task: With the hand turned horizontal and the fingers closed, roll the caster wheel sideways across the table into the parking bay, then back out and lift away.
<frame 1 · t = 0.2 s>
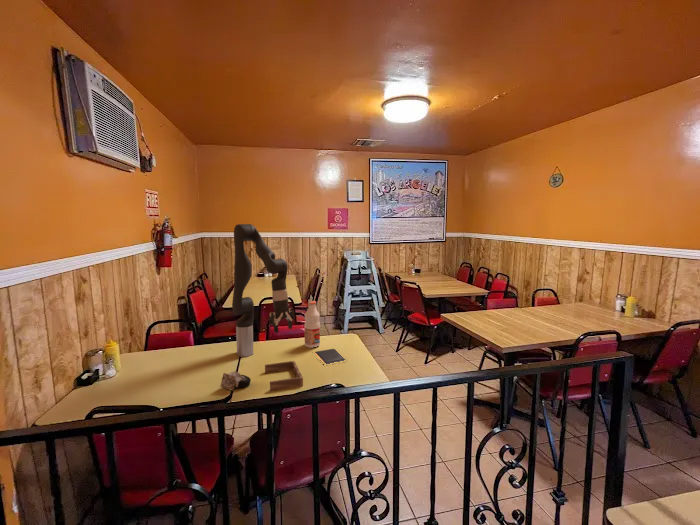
hand: (283, 330, 173), 22 cm above the table, tool pointing down, fingers open, 8 cm apart
fruit juice: (312, 345, 213), on the table
wallet: (329, 358, 196), on the table
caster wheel: (237, 386, 162), on the table
parking bay: (282, 378, 169), on the table
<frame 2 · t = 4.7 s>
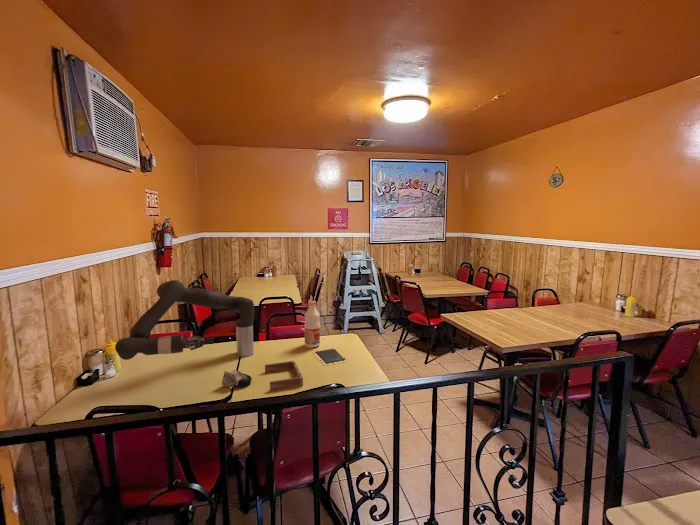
hand: (213, 340, 155), 23 cm above the table, tool horizontal, fingers closed
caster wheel: (238, 384, 163), on the table
everything else where it was.
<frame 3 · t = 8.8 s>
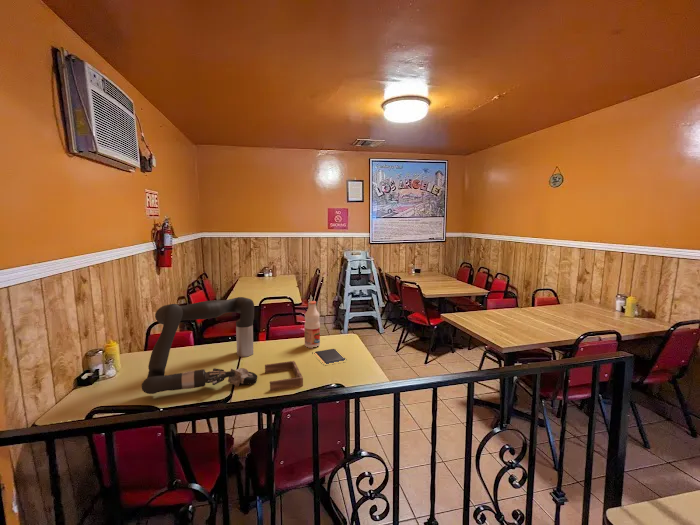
hand: (234, 373, 161), 6 cm above the table, tool horizontal, fingers closed
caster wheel: (244, 382, 165), on the table, touching gripper
everything else where it was.
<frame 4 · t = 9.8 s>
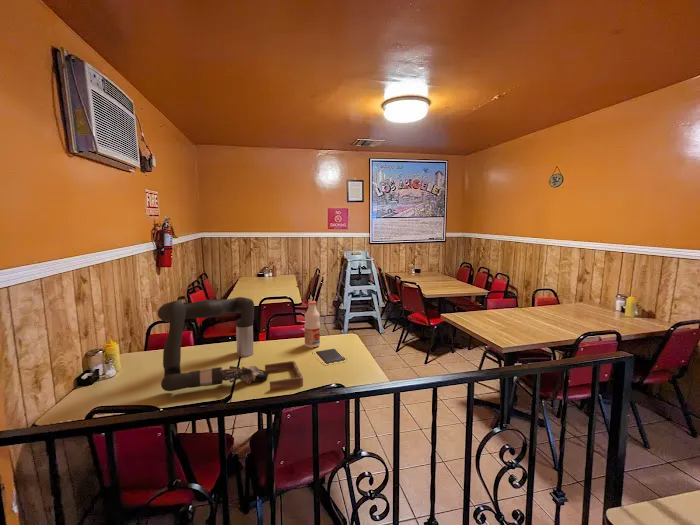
hand: (250, 371, 163), 6 cm above the table, tool horizontal, fingers closed
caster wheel: (255, 380, 168), on the table
everything else where it was.
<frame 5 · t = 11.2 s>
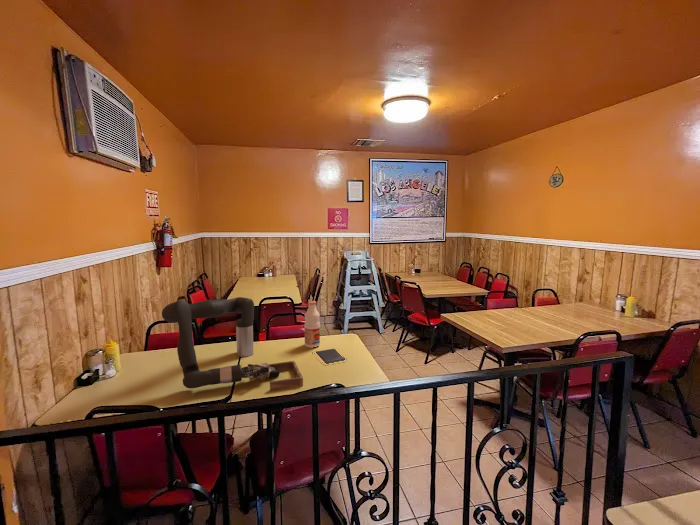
hand: (268, 369, 166), 6 cm above the table, tool horizontal, fingers closed
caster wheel: (267, 376, 172), on the table, touching gripper, hand
everything else where it was.
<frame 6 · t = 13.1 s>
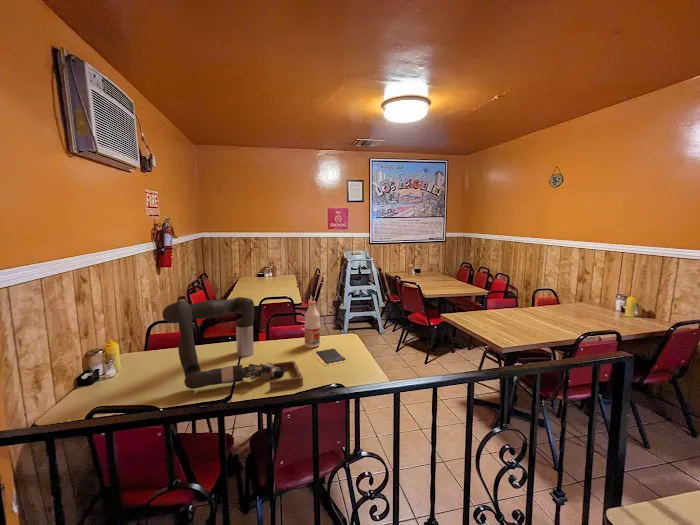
hand: (269, 368, 166), 6 cm above the table, tool horizontal, fingers closed
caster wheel: (272, 376, 172), on the table
everything else where it was.
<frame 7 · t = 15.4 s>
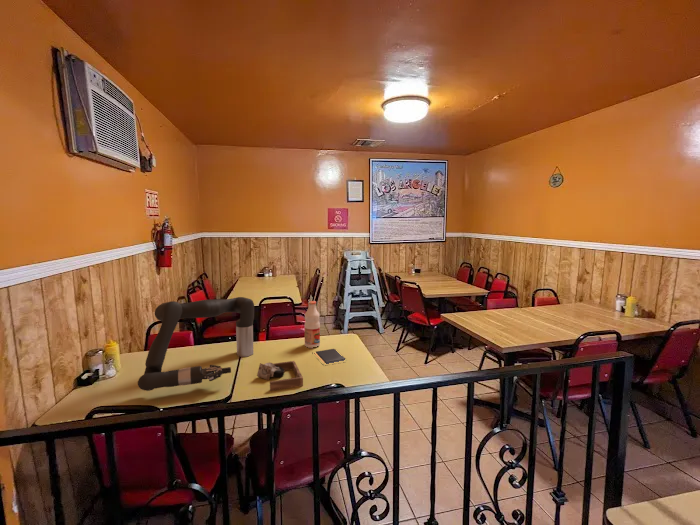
hand: (230, 369, 160), 8 cm above the table, tool horizontal, fingers closed
nothing on the table moved.
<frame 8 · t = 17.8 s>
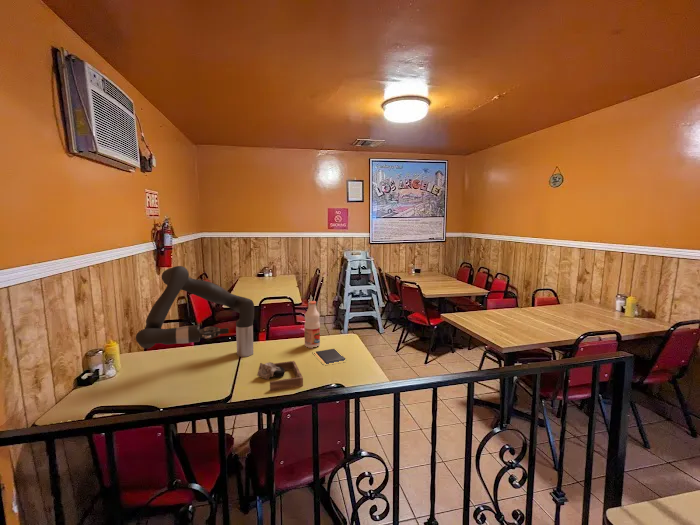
hand: (228, 330, 161), 26 cm above the table, tool horizontal, fingers closed
nothing on the table moved.
at the end: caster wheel inside the target area (6.7 cm from its centre), on the table; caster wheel tilted 0° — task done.
